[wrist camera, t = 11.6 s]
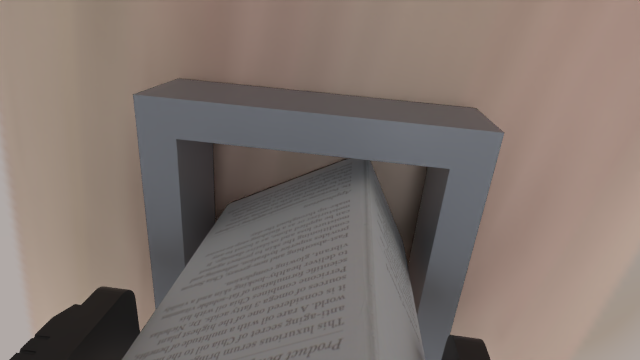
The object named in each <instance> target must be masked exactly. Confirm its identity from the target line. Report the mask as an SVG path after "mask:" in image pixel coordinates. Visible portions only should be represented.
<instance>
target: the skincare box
mask: <svg viewBox="0 0 640 360" xmlns="http://www.w3.org/2000/svg"><path fill="white" fill-rule="evenodd" d="M122 360H425V356H424V350H423V345H422V340H421V334H420V329H419V323H418V318H417V313H416V308H415V302H414V297H413V292H412V287H411V281H410V276H409V271H408V265H407V260H406V254H405V249H404V244H403V241H402V238H401V236H400V233H399V231H398V229H397V226H396V224H395V221H394V219H393V216H392V214H391V211H390V209H389V206H388V204H387V201H386V199H385V196H384V194H383V191H382V188H381V186H380V183H379V181H378V178H377V176H376V174H375V171H374V169H373V166H372V164H371V161H370V160H363V159H354V158H349V159H346V160H343V161H341V162H338V163H335V164H333V165H330V166H327V167H325V168H322V169H319V170H317V171H314V172H311V173H309V174H306V175H304V176H301V177H298V178H296V179H293V180H290V181H288V182H285V183H283V184H280V185H277V186H275V187H272V188H269V189H267V190H264V191H262V192H259V193H257V194H254V195H251V196H249V197H246V198H243V199H240V200H238V201H235V202H232V203H230V204H228V205H227V207H226V208H225V210H224V211H223V213H222V214H221V215H220V217H219V218H218V220H217V221H216V223H215V224H214V226H213V227H212V228H211V230H210V231H209V233H208V234H207V236H206V237H205V239H204V240H203V241H202V243H201V244H200V246H199V247H198V249H197V250H196V252H195V253H194V255H193V256H192V258H191V259H190V261H189V262H188V264H187V265H186V267H185V268H184V270H183V271H182V272H181V274H180V275H179V277H178V278H177V280H176V281H175V283H174V284H173V286H172V287H171V289H170V290H169V292H168V293H167V294H166V296H165V297H164V299H163V300H162V302H161V303H160V305H159V306H158V307H157V309H156V310H155V312H154V313H153V315H152V316H151V318H150V319H149V321H148V322H147V324H146V325H145V326H144V328H143V329H142V331H141V332H140V334H139V335H138V337H137V338H136V339H135V341H134V342H133V344H132V345H131V347H130V348H129V350H128V351H127V353H126V354H125V356H124V357H123V358H122Z"/></svg>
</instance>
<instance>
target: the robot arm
mask: <svg viewBox="0 0 640 360" xmlns="http://www.w3.org/2000/svg"><path fill="white" fill-rule="evenodd" d="M139 334H140V330H139V322H138V315H137V307H136V300H135V295H134V293H133V291H131V290H125V289H118V288H111V287H99V288H98V289H96V290H95V291H94V292H93V293H92V294H91V295H90V297H89V298H88V299H87V300H86V301H85V302H84V303H83V304H82V305H77V304H75V305H73V306H71V307H70V308H68V309H66V310H64V311H63V312H61V313H59V314H58V315H56V316H54V317H53V318H52V319H51V320H50V321H48V322H47V323H46V324H45V325H44V326H43V327H42V328H41V329H40V330H39V331H38V332H37V333H36V334H35V337H34V338H31V339H30V340H29V341H28V342H27V343H26V344H25V345H24V346H23V347H22V348H21V349H20V353H16V354H15V355H14V356H13V357H12V358H11V359H10V360H122V358H123V357H124V356H125V354H126V353H127V351H128V350H129V348H130V347H131V345H132V344H133V342H134V341H135V339H136V338H137V337H138V335H139ZM441 360H490V357H489V354H488V351H487V348H486V346H485V343H484V342H483V340H481V339H476V338H469V337H462V336H454V335H449V336H448V338H447V341H446V344H445V348H444V352H443V355H442V359H441Z"/></svg>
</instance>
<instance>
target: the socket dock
mask: <svg viewBox="0 0 640 360" xmlns="http://www.w3.org/2000/svg"><path fill="white" fill-rule="evenodd" d="M133 99H134V108H135V118H136V127H137V136H138V146H139V155H140V165H141V174H142V184H143V193H144V203H145V212H146V222H147V231H148V240H149V250H150V259H151V269H152V278H153V288H154V297H155V307H156V309H157V307H158V306H159V305H160V303H161V302H162V300H163V299H164V297H165V296H166V294H167V293H168V292H169V290H170V289H171V287H172V286H173V284H174V283H175V281H176V280H177V278H178V277H179V275H180V274H181V272H182V271H183V270H184V268H185V267H186V265H187V264H188V262H189V261H190V259H191V258H192V256H193V255H194V253H195V252H196V250H197V249H198V247H199V246H200V244H201V243H202V241H203V240H204V239H205V237H206V236H207V234H208V233H209V231H210V230H211V228H212V227H213V226H214V224H215V202H214V167H213V143H217V144H227V145H236V146H245V147H254V148H263V149H272V150H281V151H290V152H299V153H308V154H317V155H326V156H335V157H345V158H354V159H363V160H372V161H381V162H390V163H399V164H408V165H417V166H426V167H428V168H427V173H426V178H425V183H424V188H423V193H422V198H421V203H420V208H419V213H418V218H417V223H416V229H415V234H414V239H413V244H412V249H411V254H410V259H409V264H408V271H409V276H410V281H411V287H412V292H413V297H414V302H415V308H416V313H417V318H418V323H419V329H420V334H421V340H422V345H423V350H424V356H425V360H441V359H442V355H443V352H444V348H445V344H446V341H447V338H448V336H449V335H450V332H451V328H452V324H453V321H454V317H455V313H456V310H457V306H458V302H459V298H460V295H461V291H462V287H463V284H464V280H465V276H466V273H467V269H468V265H469V261H470V258H471V254H472V250H473V247H474V243H475V239H476V236H477V232H478V228H479V224H480V221H481V217H482V213H483V210H484V206H485V202H486V199H487V195H488V191H489V187H490V184H491V180H492V176H493V173H494V169H495V165H496V162H497V158H498V154H499V150H500V147H501V143H502V139H503V136H504V132H503V131H502V130H501V129H499V128H498V127H497V126H496V125H495V124H494V123H492V122H491V121H490V120H489V119H488V118H487V117H486V116H484V115H483V114H482V113H481V112H480V111H479V110H478V109H476V108H469V107H459V106H449V105H439V104H429V103H419V102H409V101H399V100H389V99H379V98H369V97H359V96H349V95H339V94H329V93H319V92H309V91H299V90H289V89H278V88H268V87H258V86H248V85H238V84H228V83H218V82H208V81H198V80H188V79H175V80H173V81H170V82H167V83H164V84H161V85H158V86H155V87H153V88H150V89H147V90H144V91H141V92H138V93H136V94H133Z"/></svg>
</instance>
